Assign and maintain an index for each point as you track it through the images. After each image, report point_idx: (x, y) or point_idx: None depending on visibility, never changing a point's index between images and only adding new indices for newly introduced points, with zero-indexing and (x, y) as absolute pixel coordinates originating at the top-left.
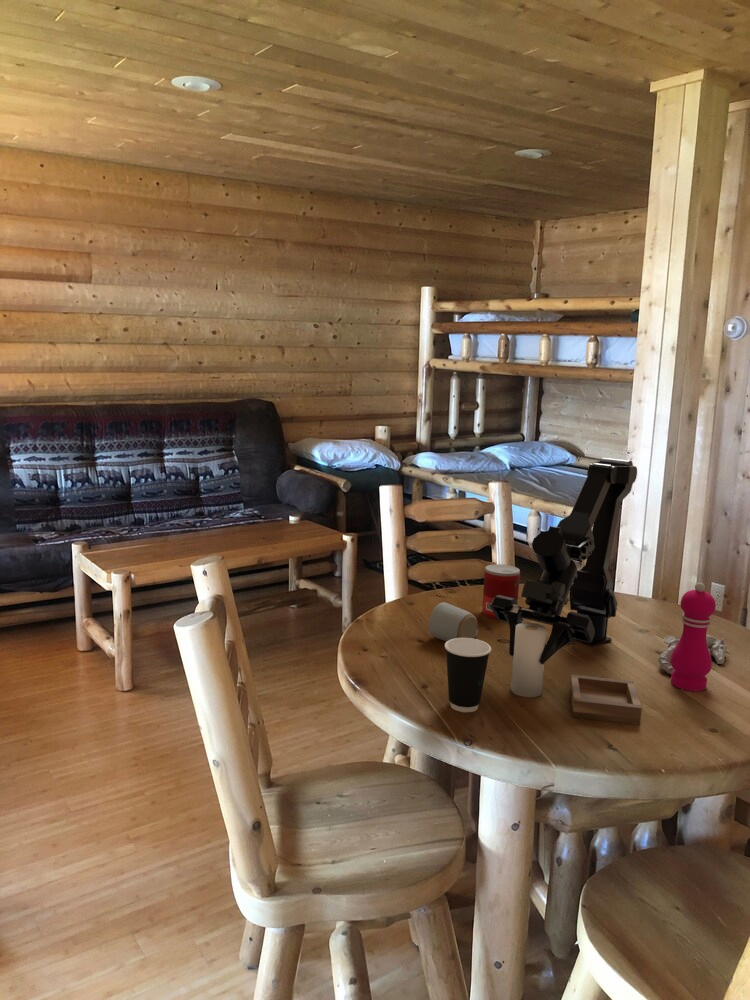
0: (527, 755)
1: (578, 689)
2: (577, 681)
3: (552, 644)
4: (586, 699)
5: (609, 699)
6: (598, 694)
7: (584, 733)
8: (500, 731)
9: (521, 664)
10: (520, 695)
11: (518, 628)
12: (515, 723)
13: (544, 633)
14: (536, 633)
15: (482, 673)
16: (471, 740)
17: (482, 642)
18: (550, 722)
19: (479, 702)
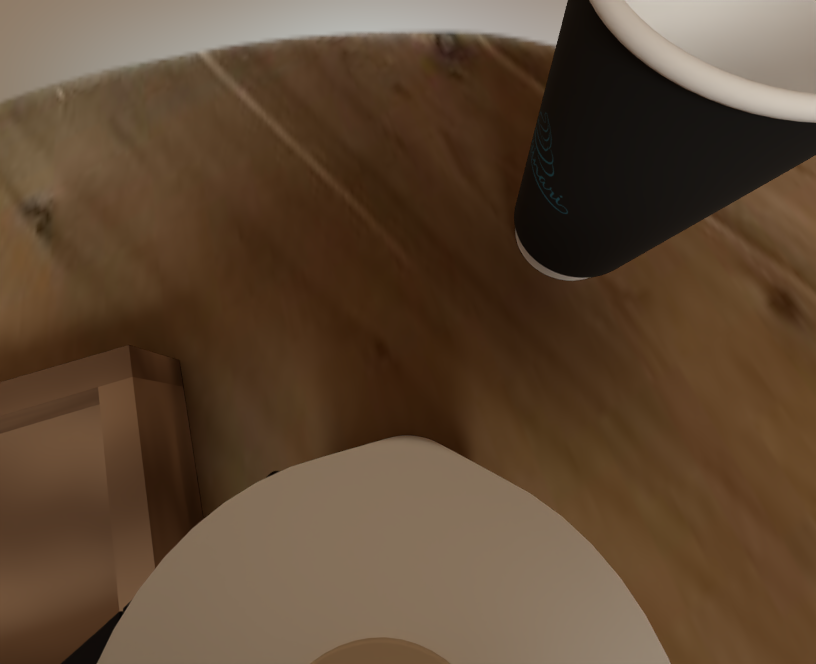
0: (276, 60)
1: (113, 489)
2: (124, 605)
3: (105, 626)
4: (71, 389)
5: (5, 580)
6: (58, 615)
7: (128, 260)
8: (386, 138)
9: (421, 439)
10: (412, 435)
11: (584, 591)
12: (360, 208)
13: (106, 662)
14: (224, 517)
15: (546, 84)
16: (443, 55)
17: (750, 84)
18: (250, 275)
19: (515, 219)
